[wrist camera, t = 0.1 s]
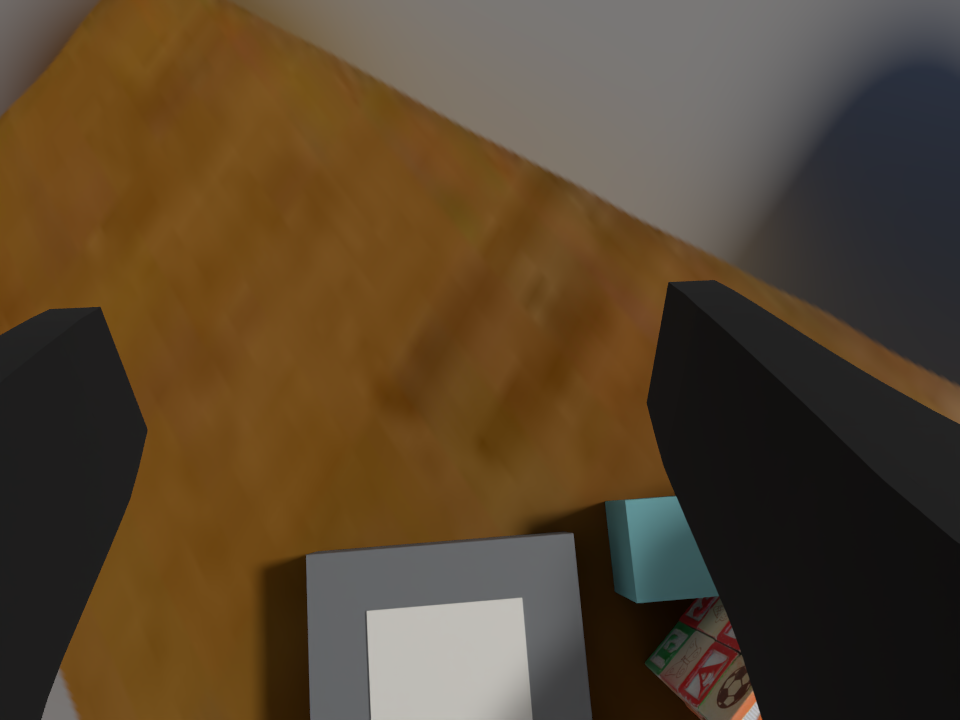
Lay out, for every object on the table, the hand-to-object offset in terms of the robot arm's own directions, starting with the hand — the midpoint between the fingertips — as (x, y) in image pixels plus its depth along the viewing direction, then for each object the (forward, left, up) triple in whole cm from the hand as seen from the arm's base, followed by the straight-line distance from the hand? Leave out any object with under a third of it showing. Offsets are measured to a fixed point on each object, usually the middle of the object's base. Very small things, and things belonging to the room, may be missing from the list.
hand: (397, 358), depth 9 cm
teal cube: (-5, -12, -32) cm, 35 cm away
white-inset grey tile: (-11, 0, -32) cm, 34 cm away
